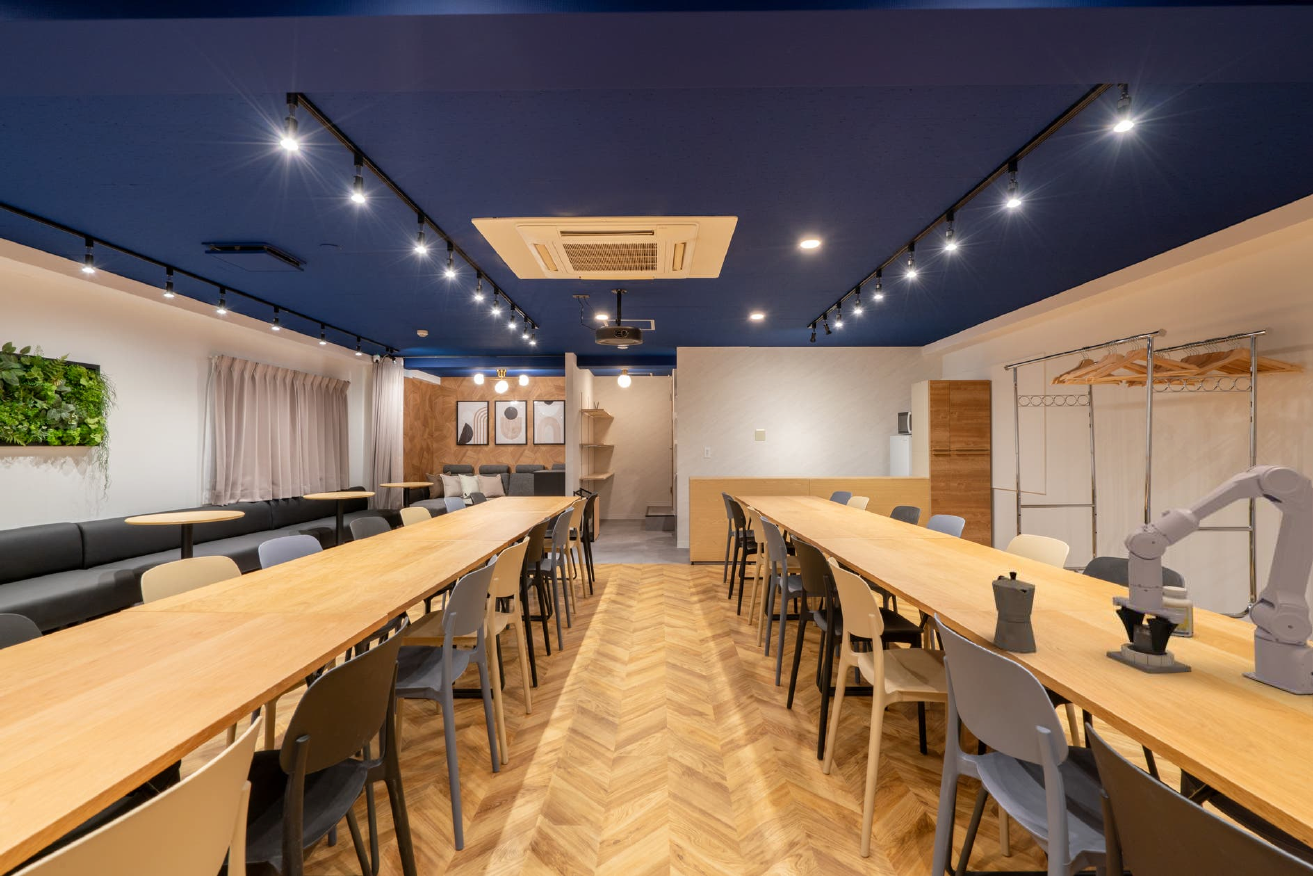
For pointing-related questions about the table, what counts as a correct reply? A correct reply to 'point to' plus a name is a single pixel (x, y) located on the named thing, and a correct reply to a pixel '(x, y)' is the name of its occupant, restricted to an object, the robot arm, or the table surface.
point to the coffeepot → (1014, 614)
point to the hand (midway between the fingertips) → (1146, 646)
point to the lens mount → (1148, 660)
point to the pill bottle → (1179, 609)
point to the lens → (1143, 640)
